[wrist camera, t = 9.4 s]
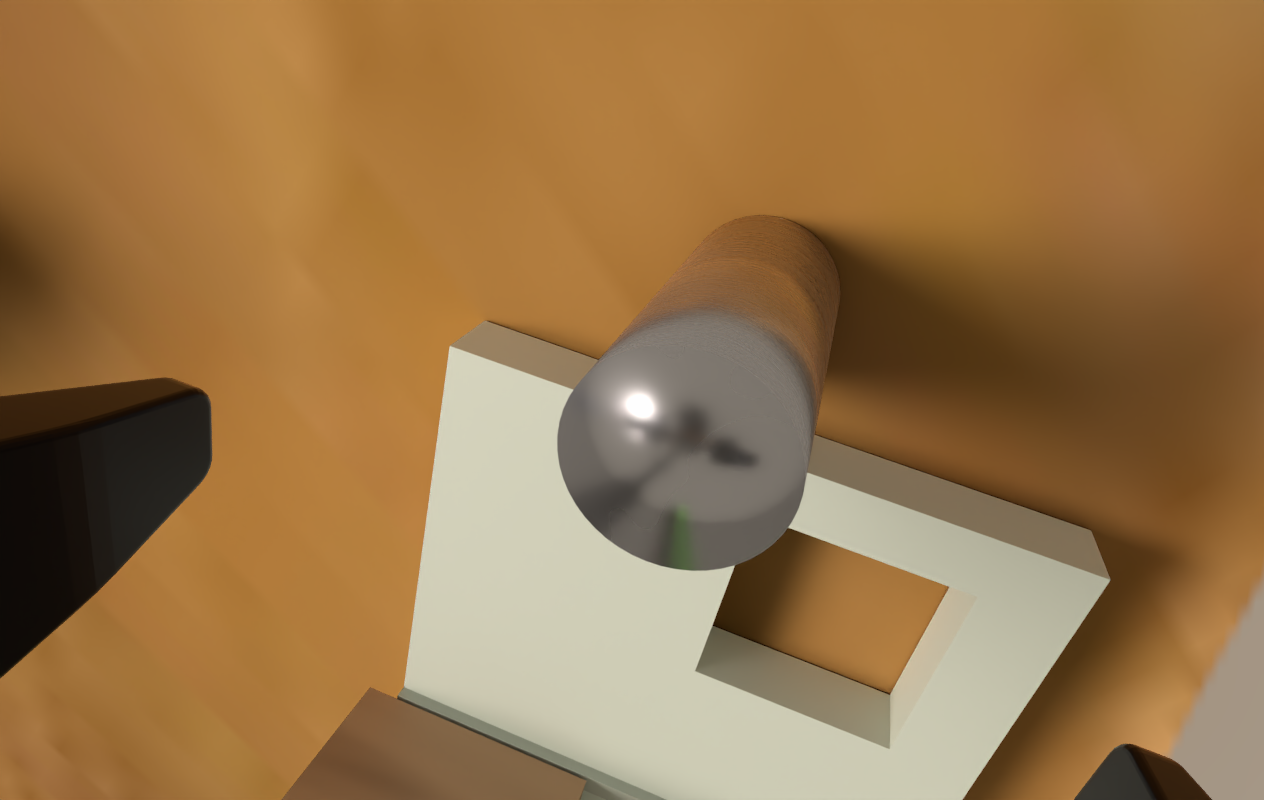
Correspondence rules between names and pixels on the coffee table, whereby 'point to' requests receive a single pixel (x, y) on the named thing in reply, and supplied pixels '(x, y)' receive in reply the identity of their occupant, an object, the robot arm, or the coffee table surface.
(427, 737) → the brown wooden block
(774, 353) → the pin
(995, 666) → the board
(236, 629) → the coffee table surface
